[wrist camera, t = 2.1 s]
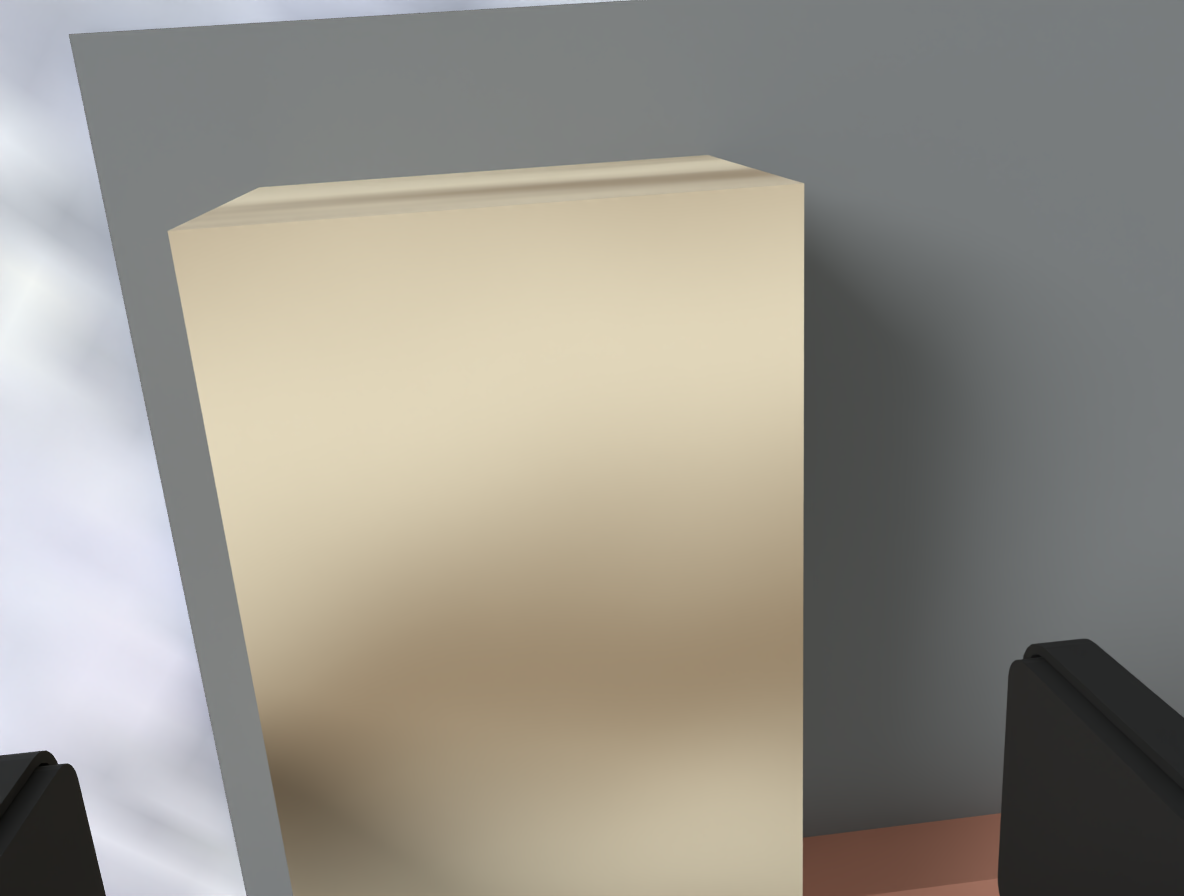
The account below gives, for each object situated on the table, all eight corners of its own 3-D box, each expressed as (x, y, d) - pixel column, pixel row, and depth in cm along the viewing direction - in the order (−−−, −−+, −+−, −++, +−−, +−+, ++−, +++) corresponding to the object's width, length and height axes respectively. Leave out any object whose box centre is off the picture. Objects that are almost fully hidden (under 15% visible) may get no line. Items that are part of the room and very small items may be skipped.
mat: (80, 35, 14) (21, 28, 12) (1527, -52, 15) (1668, -70, 13) (347, 1349, 22) (335, 1462, 20) (1273, 1203, 23) (1339, 1296, 22)
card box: (259, 187, 14) (167, 230, 10) (708, 155, 15) (804, 183, 10) (360, 819, 17) (324, 1055, 13) (724, 775, 18) (802, 990, 14)
